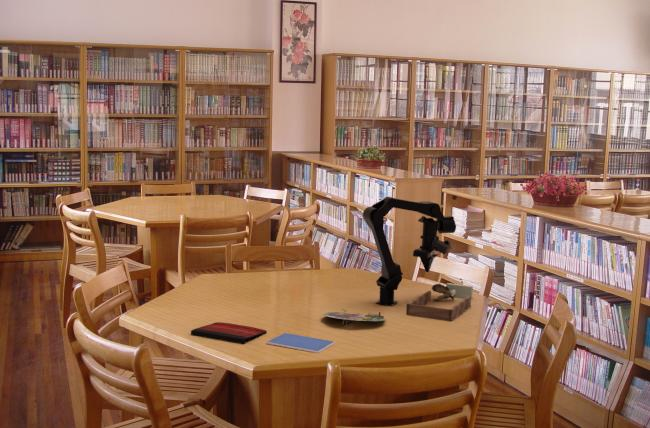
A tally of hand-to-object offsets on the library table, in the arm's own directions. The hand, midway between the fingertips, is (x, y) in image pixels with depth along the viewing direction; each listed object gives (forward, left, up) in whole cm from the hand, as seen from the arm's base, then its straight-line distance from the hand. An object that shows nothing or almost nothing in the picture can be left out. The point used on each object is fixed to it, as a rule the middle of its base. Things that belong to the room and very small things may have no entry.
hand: (427, 271), depth 313 cm
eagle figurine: (+4, -6, -12) cm, 14 cm away
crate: (-12, -10, -12) cm, 19 cm away
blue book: (-77, +16, -13) cm, 79 cm away
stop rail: (+13, -10, -12) cm, 20 cm away
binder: (-79, +42, -12) cm, 90 cm away
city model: (-43, +12, -12) cm, 46 cm away
